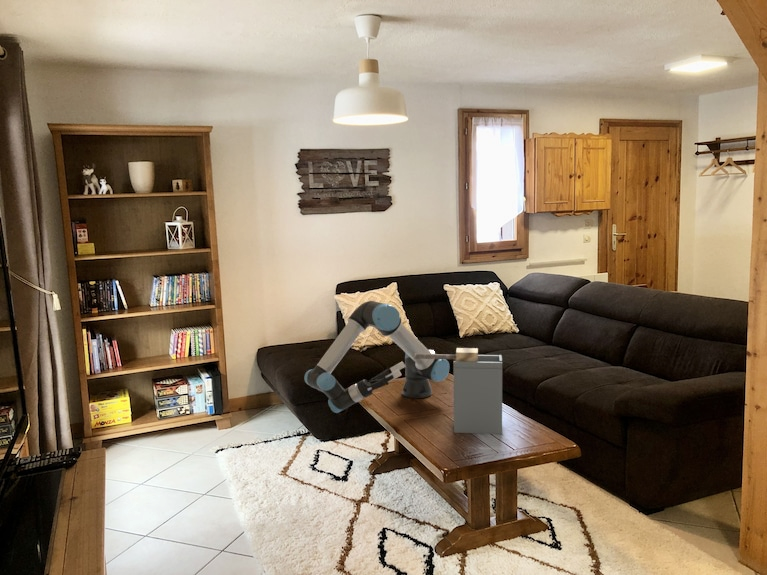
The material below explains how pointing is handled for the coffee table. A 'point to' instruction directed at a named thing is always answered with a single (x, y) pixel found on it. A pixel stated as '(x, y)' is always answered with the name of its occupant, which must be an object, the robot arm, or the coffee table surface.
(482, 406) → the shelf
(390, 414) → the coffee table surface
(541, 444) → the coffee table surface
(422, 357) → the maple block
